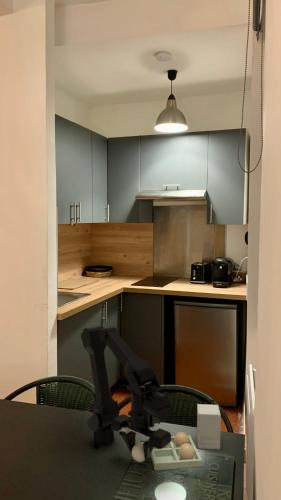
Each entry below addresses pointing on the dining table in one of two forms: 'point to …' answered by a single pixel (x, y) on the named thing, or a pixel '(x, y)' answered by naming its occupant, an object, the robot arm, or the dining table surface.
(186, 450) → the brown egg front right
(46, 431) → the dining table surface
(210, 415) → the supplement box
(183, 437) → the brown egg back right
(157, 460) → the egg tray
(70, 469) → the dining table surface
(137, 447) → the white egg
